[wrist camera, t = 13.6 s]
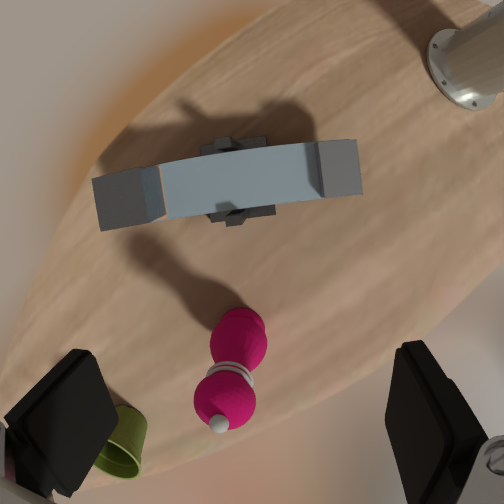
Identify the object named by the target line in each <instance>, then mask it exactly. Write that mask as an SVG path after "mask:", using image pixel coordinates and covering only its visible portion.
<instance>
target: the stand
mask: <svg viewBox="0 0 504 504" xmlns="http://www.w3.org/2000/svg"><path fill="white" fill-rule="evenodd" d="M262 147H267V143H266V136H261V137H253V138H246V139H239V140H234V139H233V138H232V137H230V136H227V137H221V138H215V139H214V144H209V145H203V146H200V151H201V156H207V155H213V154H219V153H225V152H232V151H239V150H246V149H254V148H262ZM269 215H276V210H275V204H273V205H265V206H258V207H250V208H243V209H236V210H228V211H221V212H215V213H210V219H211V223H214V222H221V221H225V222H226V227H228V226H236V225H242V224H243V223H244V221H245V220H246V218H253V217H261V216H269Z"/></svg>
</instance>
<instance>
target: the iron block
mask: <svg viewBox="0 0 504 504" xmlns="http://www.w3.org/2000/svg"><path fill="white" fill-rule="evenodd" d="M92 185H93V191H94V197H95V203H96V209H97V214H98V220H99V225H100V230H101V232H102V231H107V230H112V229H118V228H123V227H129V226H134V225H140V224H146V223H150V222H152V221H154V220H156V219H158V218H160V217H162V216H164V215H166V208H165V202H164V196H163V190H162V184H161V177H160V170H159V168H151V167H138V168H133V169H129V170H125V171H120V172H116V173H112V174H108V175H104V176H100V177H96V178H93V179H92Z"/></svg>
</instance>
